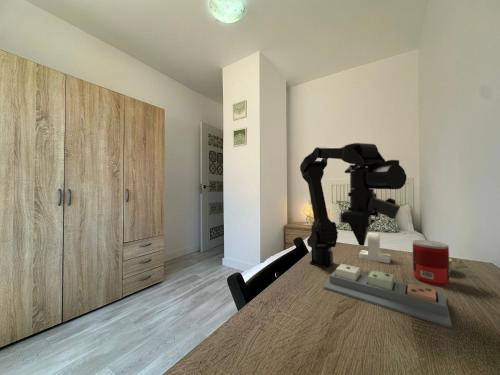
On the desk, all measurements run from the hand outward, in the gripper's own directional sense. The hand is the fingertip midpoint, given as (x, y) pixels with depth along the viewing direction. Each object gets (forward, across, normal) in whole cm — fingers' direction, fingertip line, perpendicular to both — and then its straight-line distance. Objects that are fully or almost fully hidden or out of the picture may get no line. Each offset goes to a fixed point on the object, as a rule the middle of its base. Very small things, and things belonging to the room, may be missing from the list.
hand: (361, 245), depth 56 cm
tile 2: (+9, 0, -5) cm, 10 cm away
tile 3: (+11, -1, -13) cm, 16 cm away
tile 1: (+10, 0, +3) cm, 10 cm away
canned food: (+12, +17, -15) cm, 26 cm away
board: (+12, 0, -5) cm, 12 cm away
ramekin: (+12, +28, -16) cm, 35 cm away
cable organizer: (+12, +29, +1) cm, 31 cm away
